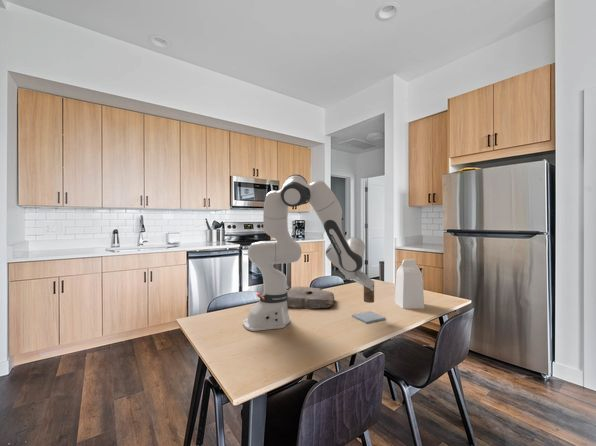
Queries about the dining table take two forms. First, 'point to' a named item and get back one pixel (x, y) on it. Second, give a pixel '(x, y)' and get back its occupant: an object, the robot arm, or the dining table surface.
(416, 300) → the milk
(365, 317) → the mat
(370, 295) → the roller
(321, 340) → the dining table surface
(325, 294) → the stone slab
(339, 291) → the dining table surface
